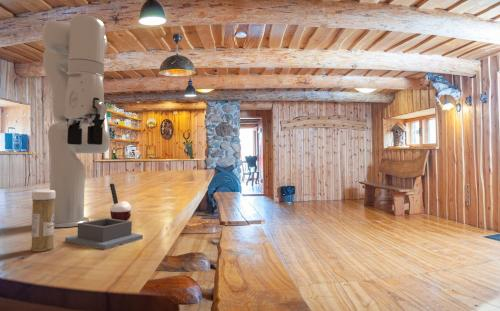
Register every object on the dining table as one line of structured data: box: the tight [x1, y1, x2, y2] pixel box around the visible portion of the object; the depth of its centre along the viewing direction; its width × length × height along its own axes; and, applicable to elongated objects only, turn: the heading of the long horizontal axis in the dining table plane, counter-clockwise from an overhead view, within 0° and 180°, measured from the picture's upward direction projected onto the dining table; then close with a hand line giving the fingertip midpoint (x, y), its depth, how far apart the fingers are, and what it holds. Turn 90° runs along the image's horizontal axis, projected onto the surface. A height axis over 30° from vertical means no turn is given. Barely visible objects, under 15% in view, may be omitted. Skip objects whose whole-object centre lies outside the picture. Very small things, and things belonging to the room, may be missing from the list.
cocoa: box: [109, 183, 132, 221], centre depth 111 cm, size 10×6×12 cm, turn 37°
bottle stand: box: [64, 217, 144, 250], centre depth 86 cm, size 14×12×4 cm
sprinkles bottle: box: [30, 189, 55, 253], centre depth 76 cm, size 5×5×14 cm
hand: (84, 144), depth 79 cm, fingers open, 9 cm apart
